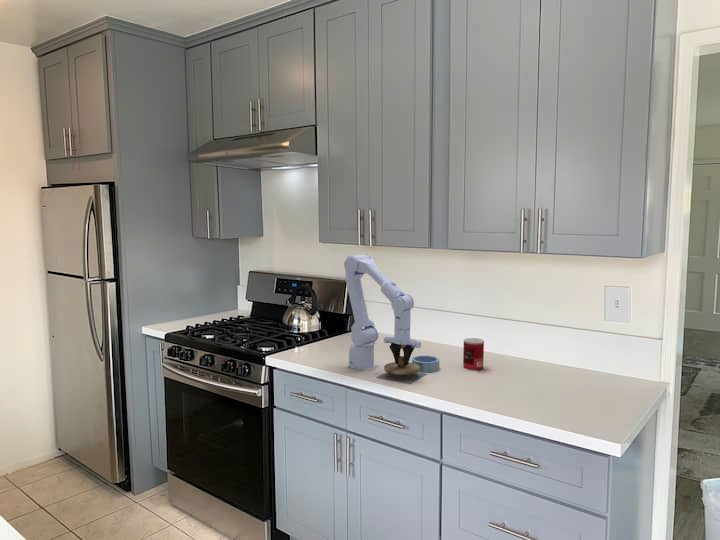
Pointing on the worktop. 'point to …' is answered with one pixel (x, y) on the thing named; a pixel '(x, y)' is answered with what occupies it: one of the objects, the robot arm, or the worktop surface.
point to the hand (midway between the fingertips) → (401, 364)
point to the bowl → (426, 363)
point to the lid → (401, 367)
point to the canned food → (473, 353)
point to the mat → (402, 377)
